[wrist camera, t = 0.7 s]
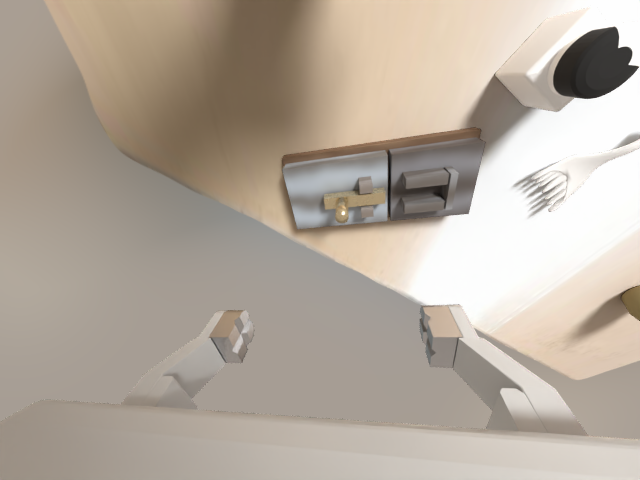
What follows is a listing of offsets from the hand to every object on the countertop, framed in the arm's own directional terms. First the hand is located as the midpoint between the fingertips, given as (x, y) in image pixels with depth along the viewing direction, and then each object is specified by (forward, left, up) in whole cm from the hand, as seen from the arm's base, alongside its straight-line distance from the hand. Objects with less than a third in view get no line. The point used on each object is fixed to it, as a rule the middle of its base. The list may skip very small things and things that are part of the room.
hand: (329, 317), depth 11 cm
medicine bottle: (-6, +27, -36) cm, 46 cm away
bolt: (+8, +1, -30) cm, 32 cm away
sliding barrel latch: (+8, +5, -36) cm, 37 cm away
